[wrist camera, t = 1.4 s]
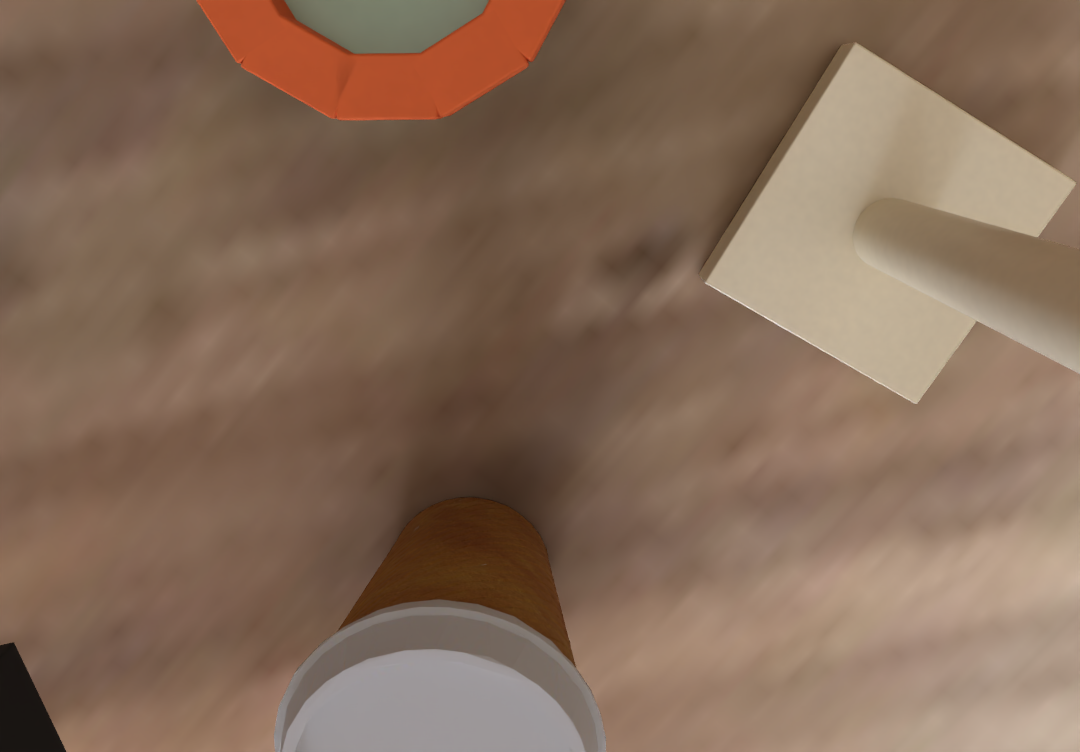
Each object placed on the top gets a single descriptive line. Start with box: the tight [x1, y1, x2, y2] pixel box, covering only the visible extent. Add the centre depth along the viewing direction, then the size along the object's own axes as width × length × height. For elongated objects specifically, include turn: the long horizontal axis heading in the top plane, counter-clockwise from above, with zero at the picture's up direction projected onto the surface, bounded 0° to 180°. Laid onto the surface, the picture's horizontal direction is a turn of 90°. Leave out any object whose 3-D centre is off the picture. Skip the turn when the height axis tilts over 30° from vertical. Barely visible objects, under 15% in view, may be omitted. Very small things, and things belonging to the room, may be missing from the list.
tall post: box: [699, 43, 1080, 404], centre depth 25 cm, size 9×9×16 cm
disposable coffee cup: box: [274, 497, 606, 752], centre depth 31 cm, size 10×10×12 cm
